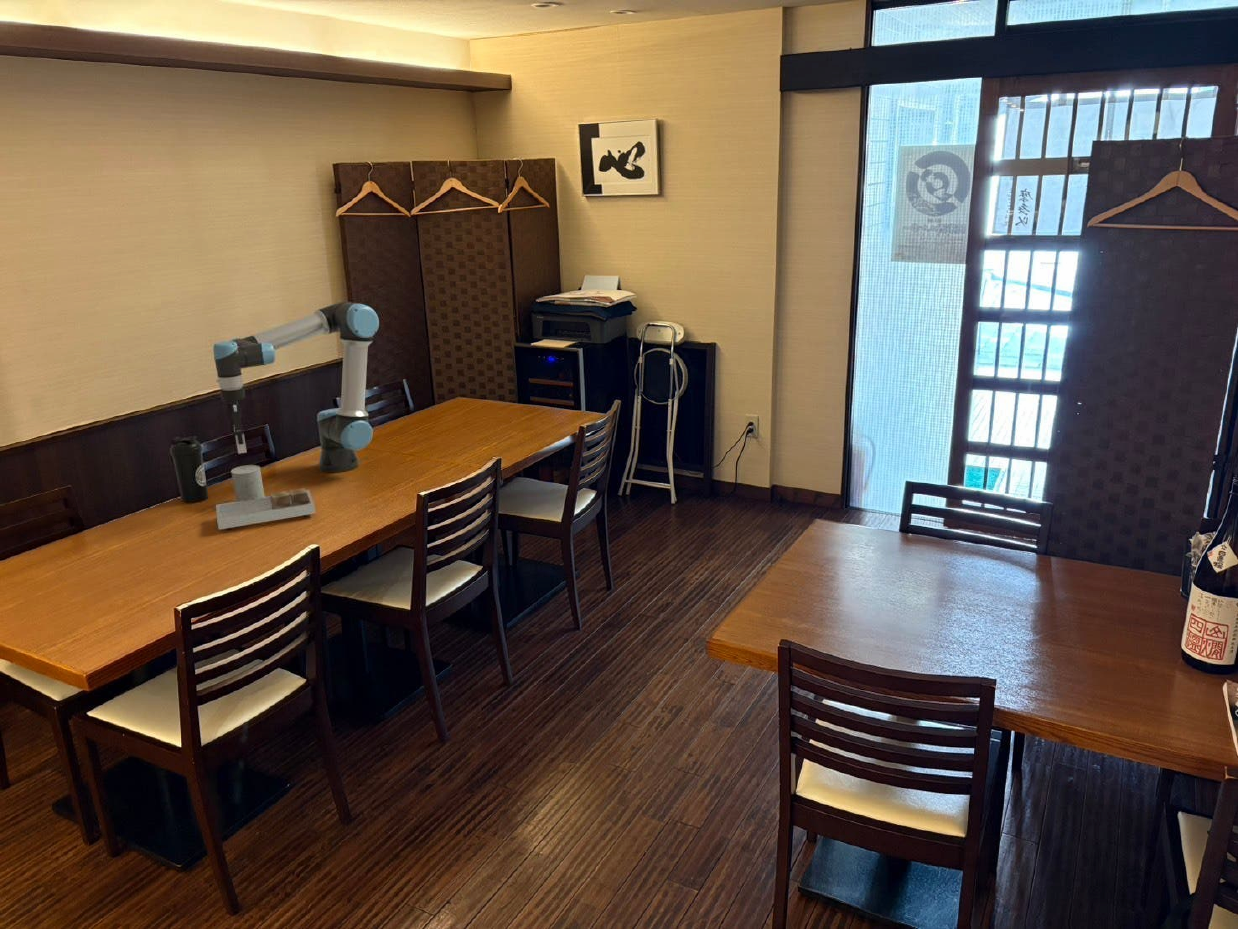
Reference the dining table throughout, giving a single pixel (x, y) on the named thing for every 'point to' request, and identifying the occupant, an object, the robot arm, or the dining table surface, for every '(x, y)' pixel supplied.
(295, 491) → the walnut block
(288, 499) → the walnut block
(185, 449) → the water bottle
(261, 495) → the grey cylinder
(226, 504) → the tray
